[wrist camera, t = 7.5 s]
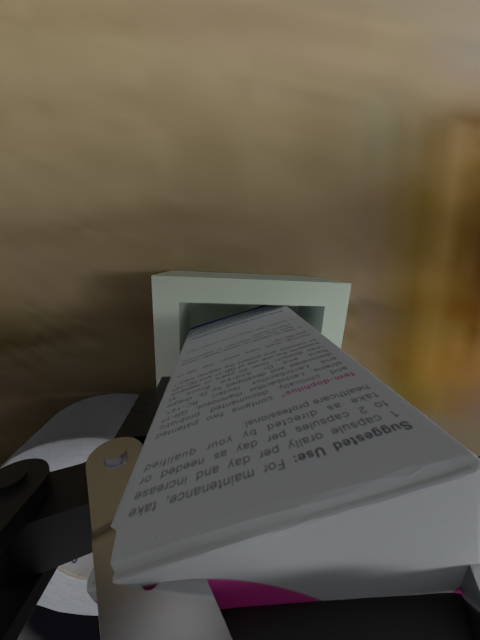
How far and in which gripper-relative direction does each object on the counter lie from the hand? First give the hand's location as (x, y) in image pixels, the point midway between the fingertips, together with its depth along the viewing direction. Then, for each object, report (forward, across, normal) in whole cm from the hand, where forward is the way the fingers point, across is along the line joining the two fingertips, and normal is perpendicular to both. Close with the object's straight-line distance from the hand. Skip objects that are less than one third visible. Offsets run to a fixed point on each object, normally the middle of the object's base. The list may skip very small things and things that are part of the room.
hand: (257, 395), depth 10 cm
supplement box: (+5, 0, 0) cm, 5 cm away
